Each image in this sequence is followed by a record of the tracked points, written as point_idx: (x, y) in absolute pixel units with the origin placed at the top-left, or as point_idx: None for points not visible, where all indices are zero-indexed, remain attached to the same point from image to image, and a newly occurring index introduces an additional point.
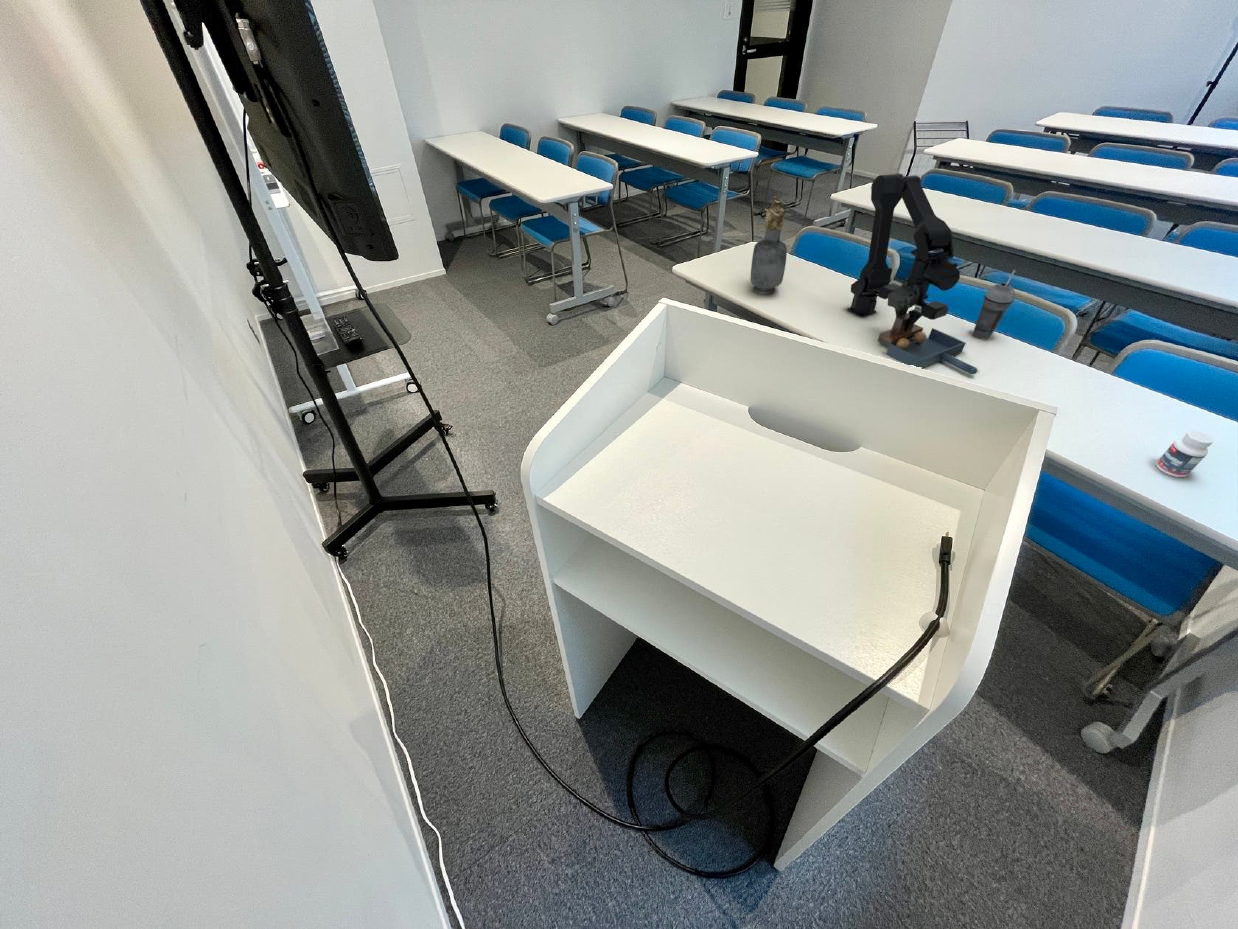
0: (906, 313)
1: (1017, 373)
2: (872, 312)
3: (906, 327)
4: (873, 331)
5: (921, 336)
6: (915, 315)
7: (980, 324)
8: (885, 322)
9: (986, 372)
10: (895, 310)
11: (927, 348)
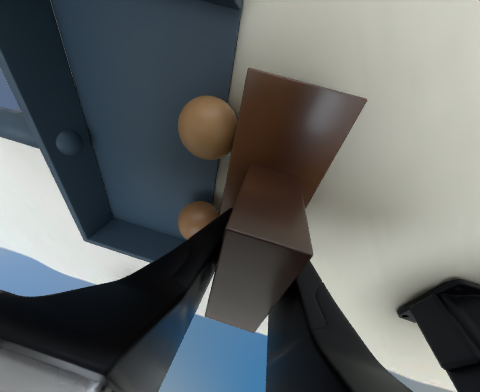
0: (262, 318)
1: (5, 198)
2: (415, 307)
3: (225, 218)
4: (382, 203)
5: (182, 218)
6: (7, 294)
7: None
8: (348, 275)
9: (9, 161)
10: (357, 338)
11: (164, 190)
